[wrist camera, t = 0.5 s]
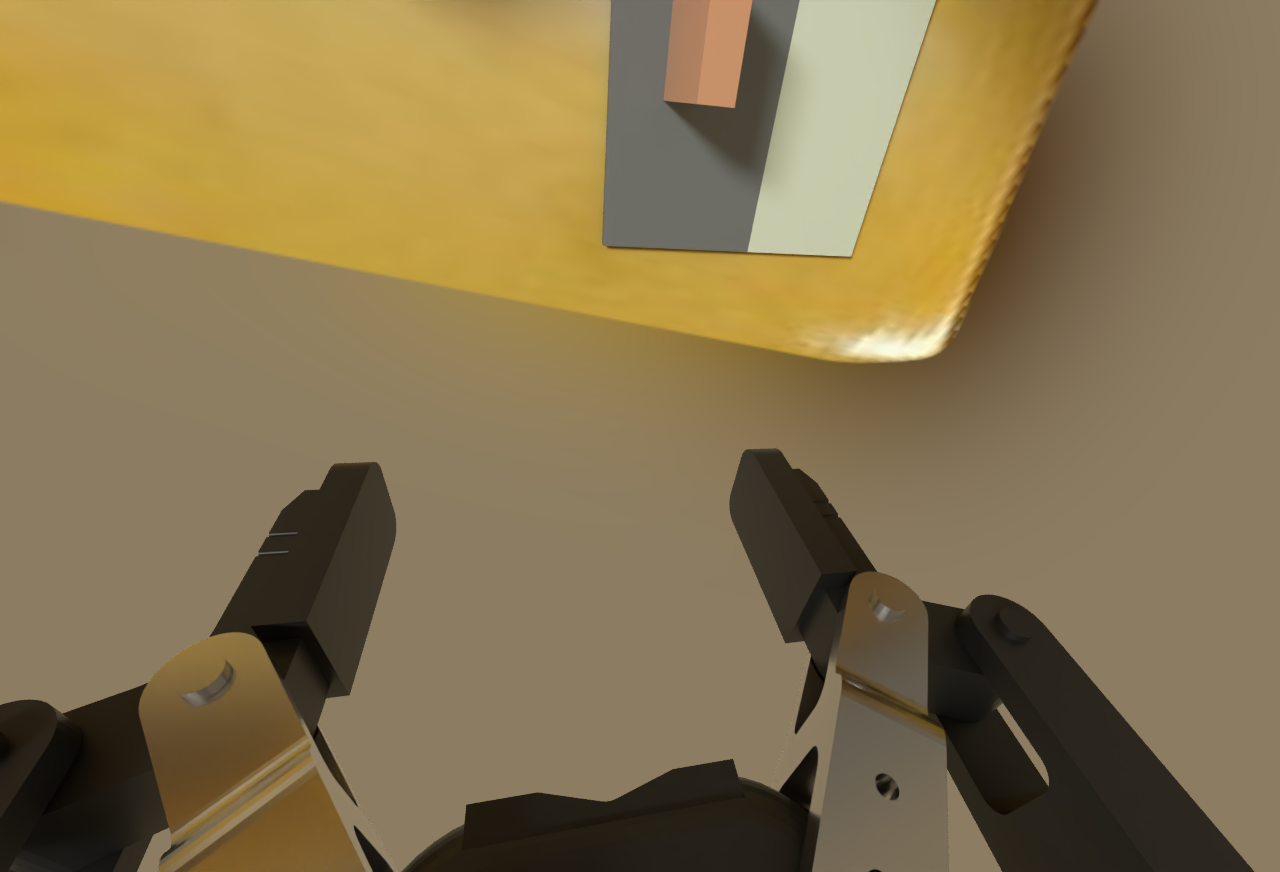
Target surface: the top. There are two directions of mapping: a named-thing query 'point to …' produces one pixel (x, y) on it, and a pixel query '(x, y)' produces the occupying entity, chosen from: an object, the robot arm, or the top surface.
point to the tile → (706, 51)
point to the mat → (758, 128)
